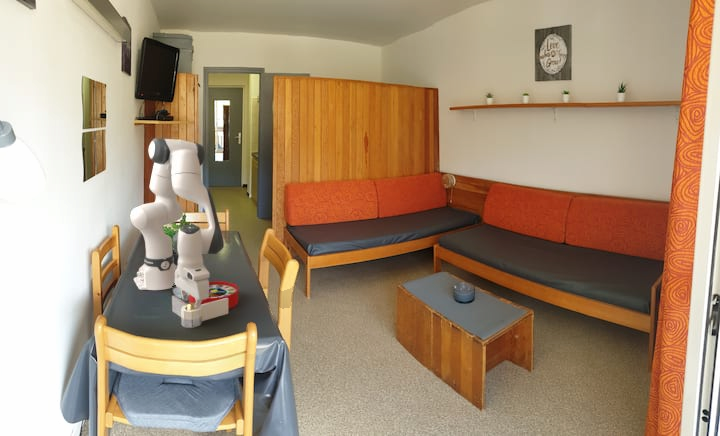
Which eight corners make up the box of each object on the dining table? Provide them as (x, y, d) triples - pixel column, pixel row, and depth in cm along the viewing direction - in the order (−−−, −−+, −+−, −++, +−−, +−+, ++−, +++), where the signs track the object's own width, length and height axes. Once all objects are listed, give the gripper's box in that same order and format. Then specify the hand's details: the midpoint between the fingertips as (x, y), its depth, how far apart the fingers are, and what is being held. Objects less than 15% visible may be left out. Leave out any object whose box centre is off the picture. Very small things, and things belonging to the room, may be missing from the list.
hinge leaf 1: (165, 313, 181) (164, 297, 179) (182, 308, 186) (181, 293, 184) (187, 329, 168) (186, 313, 167) (204, 324, 173) (204, 308, 172)
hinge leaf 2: (178, 323, 173) (178, 307, 171) (223, 310, 186) (223, 295, 185) (187, 329, 168) (186, 313, 167) (232, 315, 182) (232, 300, 180)
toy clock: (181, 297, 183) (198, 280, 203) (182, 310, 184) (198, 292, 204) (231, 299, 183) (243, 282, 203) (231, 313, 185) (243, 294, 204)
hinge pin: (186, 323, 173) (185, 303, 171) (193, 321, 175) (193, 301, 173) (189, 326, 171) (189, 306, 169) (197, 323, 173) (197, 304, 171)
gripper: (169, 263, 173) (170, 297, 176) (195, 278, 159) (196, 314, 162) (185, 260, 178) (186, 293, 180) (212, 274, 164) (212, 310, 167)
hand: (191, 303), depth 171 cm, fingers open, 8 cm apart
